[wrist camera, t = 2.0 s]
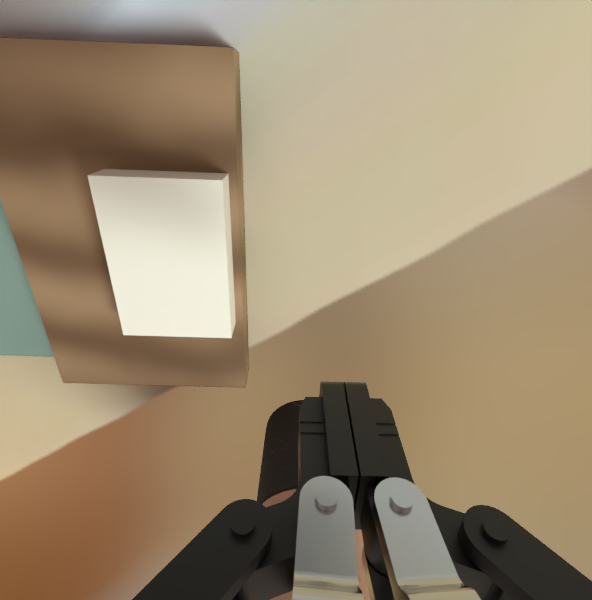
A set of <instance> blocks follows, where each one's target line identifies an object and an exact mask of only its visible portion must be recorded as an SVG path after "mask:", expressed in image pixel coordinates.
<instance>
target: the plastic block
mask: <svg viewBox="0 0 592 600" xmlns="http://www.w3.org/2000/svg"><path fill="white" fill-rule="evenodd" d="M87 176H88V180H89V185H90V189H91V194H92V198H93V203H94V207H95V211H96V216H97V220H98V225H99V229H100V234H101V238H102V243H103V247H104V251H105V256H106V260H107V265H108V269H109V274H110V278H111V283H112V287H113V291H114V296H115V300H116V305H117V309H118V314H119V318H120V323H121V327H122V331H123V335H136V336H171V337H205V338H232V334H233V330H234V327H235V323H236V317H235V297H234V277H233V257H232V237H231V217H230V197H229V177H228V173H206V172H178V171H151V170H123V169H103V170H100V171H98V172H95V173H93V174H90V175H87Z"/></svg>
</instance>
